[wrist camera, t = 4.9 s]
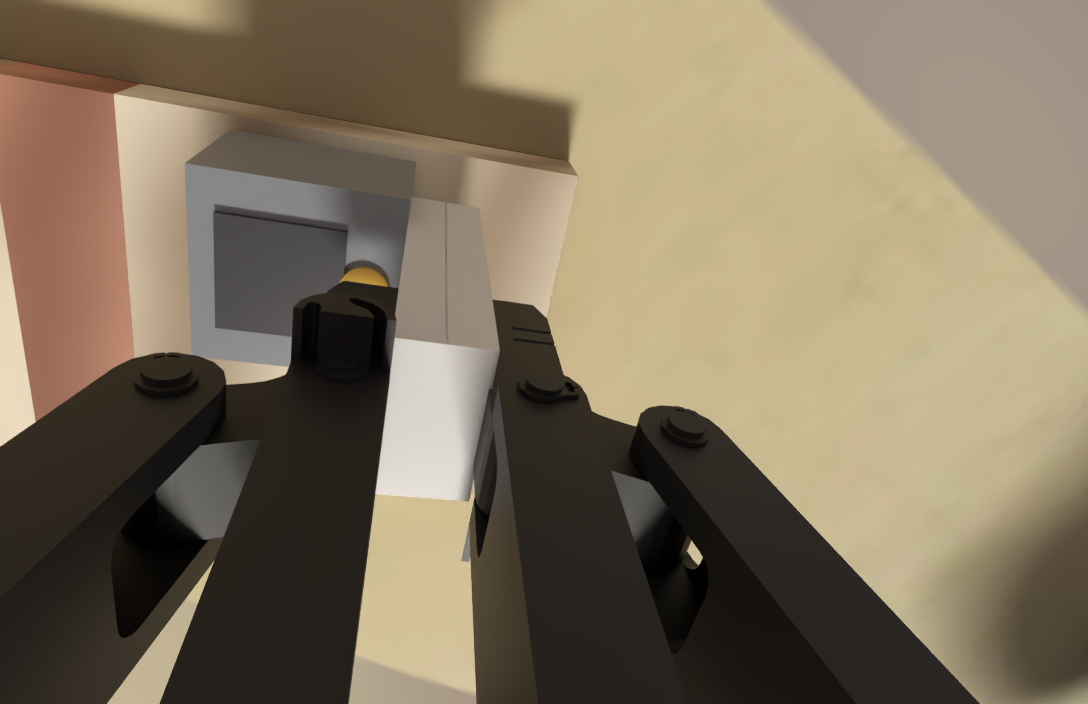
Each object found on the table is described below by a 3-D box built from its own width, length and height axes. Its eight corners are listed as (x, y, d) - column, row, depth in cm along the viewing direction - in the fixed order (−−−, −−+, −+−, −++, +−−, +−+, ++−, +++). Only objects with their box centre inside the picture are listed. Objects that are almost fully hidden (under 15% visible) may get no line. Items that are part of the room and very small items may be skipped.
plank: (568, 161, 18) (578, 176, 17) (502, 465, 23) (505, 496, 21) (-153, 30, 15) (-212, 36, 13) (-61, 416, 19) (-98, 449, 18)
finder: (416, 161, 16) (409, 202, 13) (397, 317, 18) (388, 381, 15) (230, 129, 15) (181, 165, 12) (231, 296, 17) (189, 360, 14)
